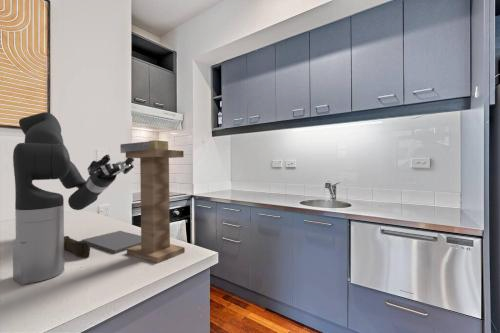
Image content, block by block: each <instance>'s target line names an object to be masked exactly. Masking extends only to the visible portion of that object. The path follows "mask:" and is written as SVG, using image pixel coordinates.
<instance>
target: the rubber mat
mask: <svg viewBox="0 0 500 333" xmlns="http://www.w3.org/2000/svg"><path fill="white" fill-rule="evenodd" d="M81 241H87V242H89V244H90V247H91V246H92V247H94V248H98V249H100V250H104V251H106V252H110V253H112V254H115V255H116V254H119V253H121V252H125V251H127V248H130V247H134V246H137V245H140V244H141V234H140V235H139V234H135V233H131V232H128V231H127V232H126V231H122V230H118V231H113V232H108V233H105V234H100V235H97V236H91V237H87V238H83V239H81Z"/></svg>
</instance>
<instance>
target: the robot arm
mask: <svg viewBox="0 0 500 333" xmlns="http://www.w3.org/2000/svg"><path fill="white" fill-rule="evenodd" d="M18 125H19V128H20V129H21V132H22V133H23V134H24V142H19V143H17V144H16V145H15V146H14V148H13V151H12V153H13V154H12V163H13V164H12V165H13V166H12V167H13V174H14V175H13V176H14V189H15V196H14V197H15V201H14V202H15V203H14V204H15V205H14V206H15V208H14V209H15V215H14V216H15V239H13V240H12V280H14V281H15V282H17V283H18V284H19V285H21V286H22V285H26V284H31V283H38V282H42V281H45V280H50V279H51V278H54V277H56V276H59V275H61V274H62V273H63V272H64V271H65V249H64V236H65V215H64V213H65V212H64V210H65V209H64V208H65V205H64V204H65V203H64V200H65V198H64V195H63V194H61V193H58V192H55V191H53V192H52V191H49V190H44V189H42V188H40V187H38V186H36V185H34V184H33V181H45V180H59V181H60V183H61V185H62V186H63V187H64V188H65V189H68V190H70V189H74V188H77V190H75V191H74V192H73V193H72V194H70V196H69V197H68V199H67V200H68V201H67V202H68V206H69V207H70V208H71V209H72V210H74V211H82V210H83V209H86V208H87V207H89V206H90V205H91V204H93V203H95V202H96V201H97V200H98V196H99V195H101V194H102V193H103V192H104V191H105V190H106V189H108V188H109V187H110V185H111V184H113V182H115V180H116V178H117V175H119V174H120V173H123V175H125V174H128V173H129V172H130V171H131V170H132V169H134V168H135V165H134V164H133V163H134V161H135V158H125V160H124V161H118V162H116V163H110V161H111V157H110V155H109V154H105V155H104V156H102V158H101V159H99V160H98V161H97V160H92V161H91V162H90V164H89V166H88V167H87V172H88V175H89V176H88V178H87V179H86V180H85V179H84V178H83V176H82V174H81V172H80V171H79V169H78V168H77V166H76V165H75V164H74V163H73V162H72V161H71V156H70V154H69V151H68V148H67V147H66V145H65V143H64V138H63V135H62V127H61V124H60V122H59V120H58V119H57V118H56V116H55V115H53V113H50V112H47V111H46V112H39V113H36V114H33V115H32V114H31V115H29V116H26V117H22V118H20V119H19V120H18Z"/></svg>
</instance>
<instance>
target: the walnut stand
mask: <svg viewBox="0 0 500 333" xmlns="http://www.w3.org/2000/svg"><path fill="white" fill-rule="evenodd" d="M184 155H185V154H184V150H173V149H168V150H161V149H153V150H139V151H126V153H125V159H127V158H134V159H140V160H139V165H140V166H139V167H140V168H139V170H140V172H139V173H140V176H139V177H140V178H139V179H140V236H141V244H140V245H137V246H134V247H130V248H127V250H126V254H127V255H131V256H134V257H137V258H140V259H144V260H146V261H150V262H152V263H155V264H159V263H162V262H164V261H167V260H169V259H171V258H174V257H176V256H178V255H182V254H184V253H185V252H186V251H185V250H186V248H185V247H184V246H181V245H176V244H172V243H171V233H170V232H171V227H170V221H171V220H170V218H171V217H170V158H171V159H172V158H173V159H174V158H177V159H178V158H184Z"/></svg>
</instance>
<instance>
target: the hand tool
mask: <svg viewBox="0 0 500 333" xmlns="http://www.w3.org/2000/svg"><path fill="white" fill-rule="evenodd" d="M64 250H66V251H69V252H72V253H74V254H75V256H76V257H79V258H90V255H91V254H90V251H91V245H90V244H89V242H87V241H82V240H77V239H74V238H71V237H70V236H68V235H64Z"/></svg>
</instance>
